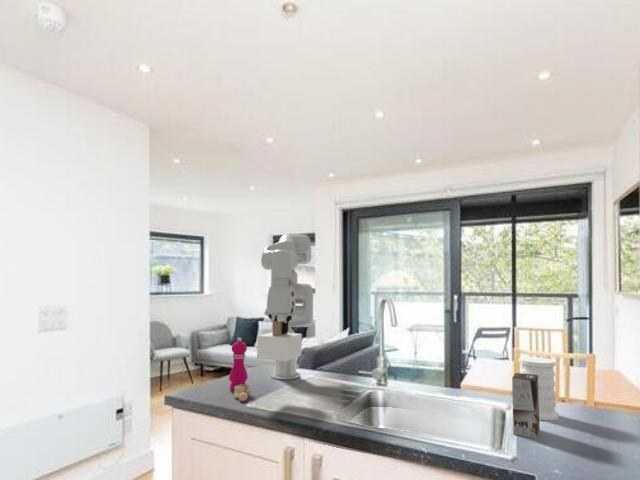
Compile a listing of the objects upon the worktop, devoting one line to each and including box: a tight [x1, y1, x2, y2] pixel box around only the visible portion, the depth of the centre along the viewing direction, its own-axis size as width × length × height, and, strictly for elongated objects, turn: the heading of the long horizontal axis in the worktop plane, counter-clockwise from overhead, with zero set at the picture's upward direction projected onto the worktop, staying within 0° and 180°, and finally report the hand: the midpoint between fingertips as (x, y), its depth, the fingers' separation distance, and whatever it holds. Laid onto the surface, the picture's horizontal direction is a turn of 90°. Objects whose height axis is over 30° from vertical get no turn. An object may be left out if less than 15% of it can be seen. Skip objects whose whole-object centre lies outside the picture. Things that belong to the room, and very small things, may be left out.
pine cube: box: [233, 384, 251, 399], centre depth 155 cm, size 4×4×4 cm
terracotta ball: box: [238, 392, 249, 402], centre depth 149 cm, size 3×3×3 cm
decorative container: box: [518, 356, 560, 421], centre depth 139 cm, size 12×12×18 cm
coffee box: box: [511, 372, 540, 440], centre depth 123 cm, size 9×6×16 cm
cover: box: [256, 320, 303, 361], centre depth 153 cm, size 12×12×13 cm
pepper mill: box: [228, 337, 248, 391], centre depth 167 cm, size 7×7×20 cm
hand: (280, 332), depth 153 cm, fingers closed on cover, 3 cm apart
